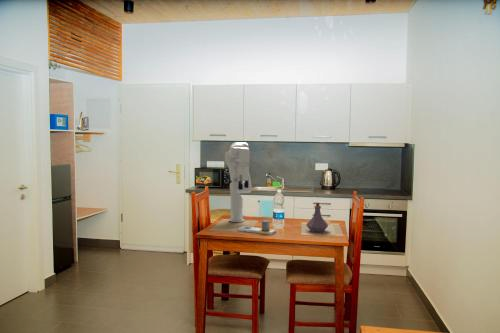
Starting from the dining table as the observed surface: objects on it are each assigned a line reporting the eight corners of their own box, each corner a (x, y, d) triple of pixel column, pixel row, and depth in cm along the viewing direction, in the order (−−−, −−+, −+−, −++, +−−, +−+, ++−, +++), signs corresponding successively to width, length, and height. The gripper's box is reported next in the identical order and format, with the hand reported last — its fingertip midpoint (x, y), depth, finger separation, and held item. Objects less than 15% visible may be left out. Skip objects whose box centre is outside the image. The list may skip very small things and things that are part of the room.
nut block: (264, 231, 278) (264, 220, 277) (269, 232, 276) (269, 220, 276) (261, 232, 274) (261, 221, 274) (266, 233, 273) (267, 221, 272)
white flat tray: (243, 228, 288) (243, 225, 288) (276, 232, 277) (276, 229, 276) (237, 230, 280) (237, 228, 280) (270, 234, 268) (270, 232, 268)
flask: (302, 228, 289) (303, 201, 288) (324, 228, 292) (325, 201, 290) (309, 233, 273) (309, 205, 272) (332, 233, 275) (332, 204, 274)
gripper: (244, 164, 295) (244, 186, 297) (233, 165, 280) (233, 189, 281) (253, 164, 292) (253, 187, 294) (243, 166, 277) (242, 190, 278)
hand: (243, 188), depth 288 cm, fingers open, 9 cm apart
